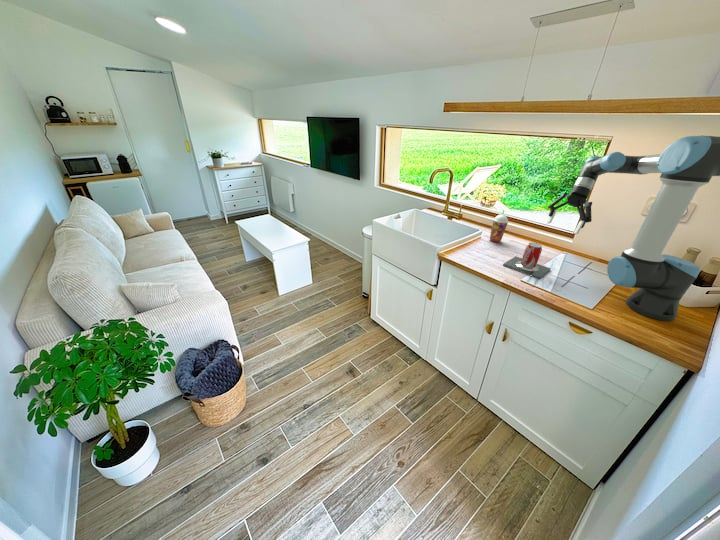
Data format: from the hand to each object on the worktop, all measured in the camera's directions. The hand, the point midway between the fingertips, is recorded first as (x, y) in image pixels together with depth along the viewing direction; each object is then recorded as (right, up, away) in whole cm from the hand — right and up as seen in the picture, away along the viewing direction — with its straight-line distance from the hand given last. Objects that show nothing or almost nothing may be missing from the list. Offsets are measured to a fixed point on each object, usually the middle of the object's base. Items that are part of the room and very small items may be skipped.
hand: (562, 228), depth 140 cm
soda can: (-14, -19, +5) cm, 24 cm away
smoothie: (-16, -3, +37) cm, 41 cm away
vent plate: (-15, -20, +6) cm, 25 cm away
